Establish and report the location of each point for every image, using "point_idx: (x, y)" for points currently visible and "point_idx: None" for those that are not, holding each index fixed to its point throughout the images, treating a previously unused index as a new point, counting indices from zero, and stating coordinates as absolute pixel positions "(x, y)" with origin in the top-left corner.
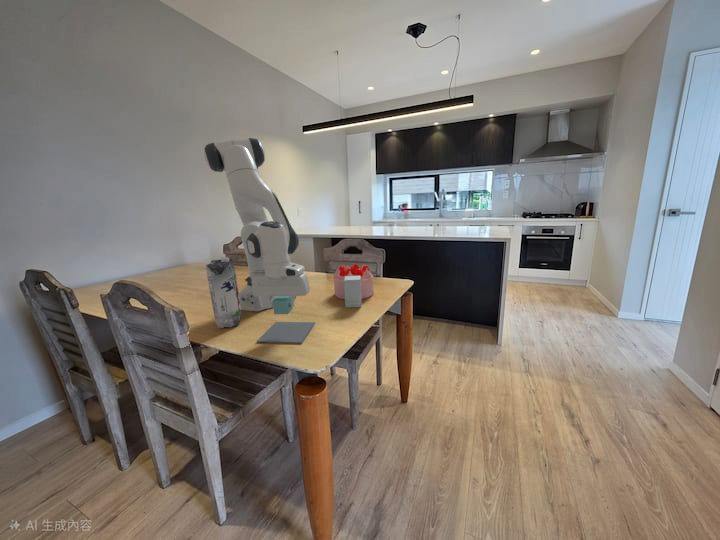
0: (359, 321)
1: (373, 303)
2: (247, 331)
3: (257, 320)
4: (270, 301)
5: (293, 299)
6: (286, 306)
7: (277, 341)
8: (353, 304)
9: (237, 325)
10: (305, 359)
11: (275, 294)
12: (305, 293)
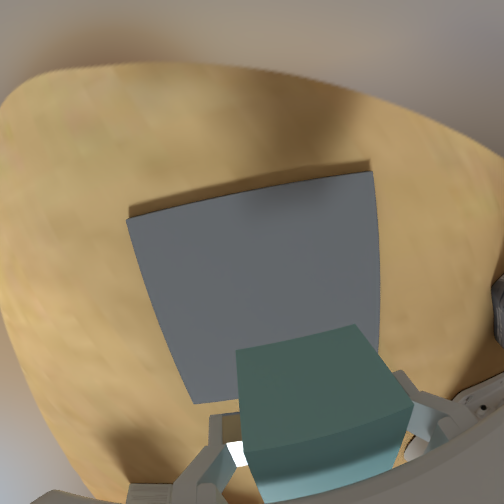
0: (63, 416)
1: (117, 492)
2: (453, 263)
3: (447, 350)
4: (430, 401)
5: (184, 476)
6: (241, 400)
7: (260, 192)
8: (147, 491)
9: (492, 288)
10: (53, 108)
11: (401, 482)
12: (36, 500)
